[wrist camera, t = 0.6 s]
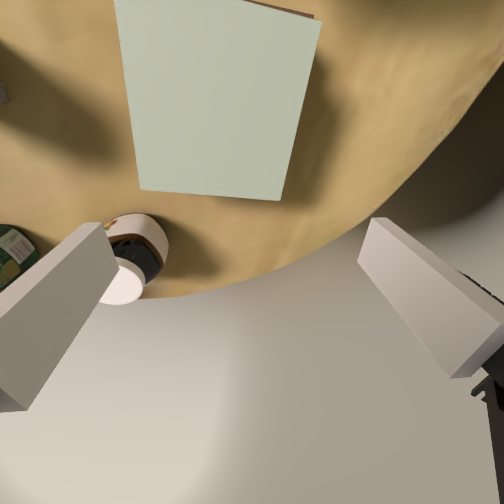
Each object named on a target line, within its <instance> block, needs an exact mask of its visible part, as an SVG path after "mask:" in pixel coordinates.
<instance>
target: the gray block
mask: <svg viewBox="0 0 504 504" xmlns="http://www.w3.org/2000/svg"><path fill="white" fill-rule="evenodd" d="M4 102H9V100H8V98H7V95H6V93H5V90H4V88H3V85H2V83H1V81H0V103H4Z"/></svg>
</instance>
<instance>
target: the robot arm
mask: <svg viewBox="0 0 504 504" xmlns="http://www.w3.org/2000/svg"><path fill="white" fill-rule="evenodd" d="M357 262H358V263H359V265H360V266H361V267H362V268H363V270H364V271H365V272H366V274H367V275H368V276H369V278H370V279H371V280H372V281H373V283H374V284H375V285H376V286H377V288H378V289H379V290H380V292H381V293H382V294H383V295H384V297H385V298H386V299H387V300H388V302H389V303H390V304H391V305H392V307H393V308H394V309H395V311H396V312H397V313H398V314H399V316H400V317H401V318H402V319H403V321H404V322H405V323H406V325H407V326H408V327H409V328H410V330H411V331H412V332H413V333H414V335H415V336H416V337H417V339H418V340H419V341H420V342H421V344H422V345H423V346H424V347H425V349H426V350H427V351H428V352H429V354H430V355H431V356H432V357H433V359H434V360H435V361H436V363H437V364H438V365H439V366H440V368H441V369H442V370H443V372H444V373H445V374H446V375H447V376H448V378H449V379H451V378H463V377H471V376H472V375H473V374H474V373H475V372H476V371H477V370H478V369H479V368H480V367H482V368H484V370H485V371H486V372H487V373H488V374H489V375H488V376H487V377H486V378H485V379H484V380H482V381H481V382H480V383H479V384H478V385H477V386H476V387H475V388H474V389H473V390H472V392H471V395H472V396H474V397H476V396H477V395H478V394H479V393H480V392H481V391H485V396H484V397H483V398H482V399H481V400H482V401H484V402H486V403H487V410H488V417H489V425H490V432H491V440H492V447H493V454H494V461H495V469H496V477H497V483H498V491H499V499H500V504H504V302H502V301H501V300H499V299H498V298H497V297H496V296H494V295H493V296H492V295H491V293H490V292H489V291H488V290H486V289H485V288H483V287H481V286H480V285H479V284H478V283H477V282H475V281H474V280H473V279H471V278H470V277H469V276H467V275H465V274H463V273H461V272H459V271H457V270H456V269H454V268H453V267H452V266H450V265H449V264H448V263H446V262H445V261H443V260H442V259H441V258H440V257H438V256H437V255H436V254H434V253H433V252H431V251H430V250H429V249H427V248H426V247H425V246H424V245H422V244H421V243H420V242H418V241H417V240H416V239H414V238H413V237H412V236H410V235H409V234H408V233H406V232H405V231H404V230H402V229H401V228H399V227H398V226H397V225H395V224H394V223H393V222H391V221H390V220H389V219H387V218H372V219H371V222H370V225H369V228H368V231H367V234H366V237H365V239H364V243H363V245H362V248H361V251H360V254H359V257H358V260H357ZM119 270H120V268H119V266H118V263H117V261H116V258H115V255H114V253H113V250H112V247H111V245H110V242H109V240H108V237H107V234H106V232H105V229H104V227H103V224H102V222H100V223H84V224H83V225H81V226H80V227H79V228H78V229H77V230H75V231H74V232H73V233H72V234H71V235H69V236H68V237H67V238H66V239H65V240H63V241H62V242H61V243H60V244H59V245H57V246H56V247H55V248H54V249H53V250H51V251H50V252H49V253H48V254H47V255H45V256H44V257H43V258H42V259H41V260H39V261H38V262H37V263H36V264H35V265H33V266H32V267H31V268H30V269H29V270H27V271H26V272H25V273H24V274H23V275H21V276H20V277H19V278H18V279H17V280H15V281H14V282H13V283H12V284H11V285H9V286H7V287H5V288H4V289H2V290H0V413H1V412H13V411H27V410H28V408H29V407H30V405H31V404H32V402H33V401H34V399H35V398H36V396H37V395H38V393H39V392H40V390H41V389H42V387H43V386H44V384H45V382H46V381H47V379H48V378H49V376H50V375H51V373H52V372H53V370H54V369H55V367H56V366H57V364H58V363H59V361H60V360H61V358H62V357H63V355H64V354H65V352H66V350H67V349H68V348H69V346H70V344H71V343H72V341H73V340H74V338H75V337H76V335H77V334H78V332H79V331H80V329H81V328H82V326H83V324H84V323H85V322H86V320H87V318H88V317H89V316H90V314H91V313H92V311H93V309H94V308H95V306H96V305H97V303H98V302H99V300H100V299H101V297H102V296H103V294H104V293H105V291H106V290H107V288H108V287H109V285H110V284H111V282H112V281H113V279H114V278H115V276H116V274H117V273H118V271H119Z"/></svg>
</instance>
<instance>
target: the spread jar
mask: <svg viewBox="0 0 504 504" xmlns="http://www.w3.org/2000/svg"><path fill="white" fill-rule="evenodd" d="M103 227H104V229H105V232H106V234H107V237H108V240H109V242H110V245H111V247H112V250H113V253H114V255H115V258H116V261H117V263H118V266H119V268H120V270H119V271H118V273H117V274H116V276H115V278H114V279H113V281H112V282H111V284H110V285H109V287H108V288H107V290H106V291H105V293H104V294H103V296H102V297H101V299H100V300H99V302H101V303H104V304H109V305H123V304H128V303H131V302H133V301H135V300H136V299H138V298H139V297H140V296H141V294H142V292H143V289H144V287H146V286H148V285H149V284H151V283H152V282H153V279H154V278H155V277H156V276H157V275H158V274H159V273H160V272H161V270H162V269H163V267H164V265H165V262H166V258H167V254H168V250H169V244H168V240H167V237H166V235H165V233H164V231H163V229H162V228H161V227H160V225H159V224H158V223H157V222H156V221H155V220H154V219H153V218H151V217H150V216H148V215H146V214H142V213H129V214H124V215H121V216H119V217H117V218H115V219H113V220H111V221H110V222H108V223H107V224H105V225H104V226H103Z"/></svg>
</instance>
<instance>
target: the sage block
mask: <svg viewBox="0 0 504 504" xmlns="http://www.w3.org/2000/svg"><path fill="white" fill-rule="evenodd" d="M114 4H115V12H116V19H117V26H118V33H119V40H120V47H121V55H122V62H123V69H124V76H125V83H126V90H127V98H128V105H129V112H130V119H131V126H132V133H133V141H134V148H135V155H136V162H137V169H138V176H139V184H140V190H152V191H164V192H176V193H188V194H200V195H212V196H225V197H237V198H249V199H261V200H273V201H280V199H281V194H282V190H283V186H284V182H285V177H286V173H287V169H288V165H289V160H290V156H291V152H292V148H293V144H294V139H295V135H296V131H297V127H298V122H299V118H300V114H301V110H302V105H303V101H304V97H305V93H306V89H307V84H308V80H309V76H310V72H311V67H312V63H313V59H314V55H315V50H316V46H317V42H318V38H319V34H320V29H321V25H322V21H318V20H314V19H310V18H307V17H303V16H299V15H295V14H292V13H288V12H284V11H281V10H277V9H273V8H269V7H266V6H262V5H258V4H254V3H251V2H247V1H243V0H114Z"/></svg>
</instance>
